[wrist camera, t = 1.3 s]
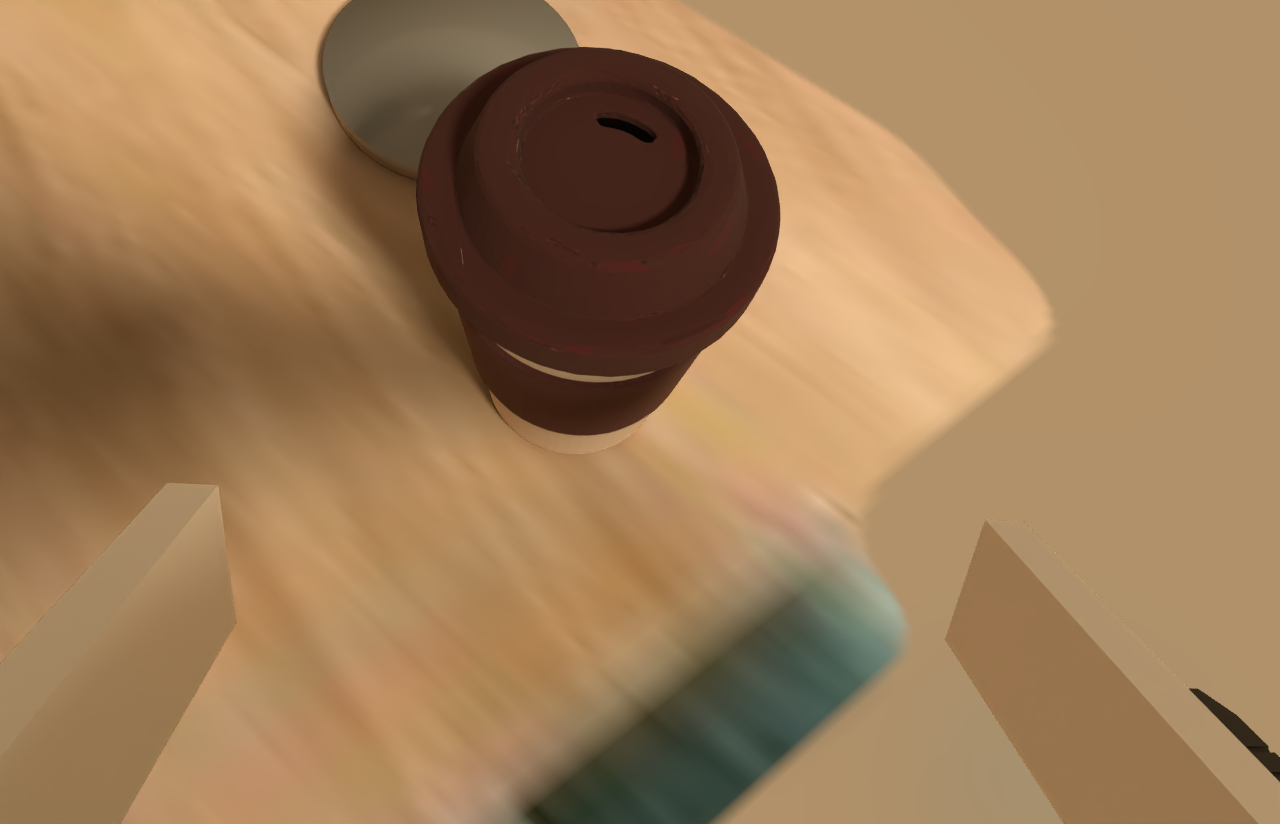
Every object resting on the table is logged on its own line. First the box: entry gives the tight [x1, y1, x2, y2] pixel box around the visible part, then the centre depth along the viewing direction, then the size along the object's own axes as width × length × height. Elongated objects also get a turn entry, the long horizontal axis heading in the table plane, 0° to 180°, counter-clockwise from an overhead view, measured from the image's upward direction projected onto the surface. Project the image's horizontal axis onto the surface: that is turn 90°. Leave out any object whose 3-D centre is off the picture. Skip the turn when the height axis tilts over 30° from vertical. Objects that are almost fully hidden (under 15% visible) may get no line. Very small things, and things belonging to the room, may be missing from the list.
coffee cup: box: [416, 47, 780, 454], centre depth 27 cm, size 10×10×15 cm
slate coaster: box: [322, 0, 579, 180], centre depth 37 cm, size 12×12×1 cm
